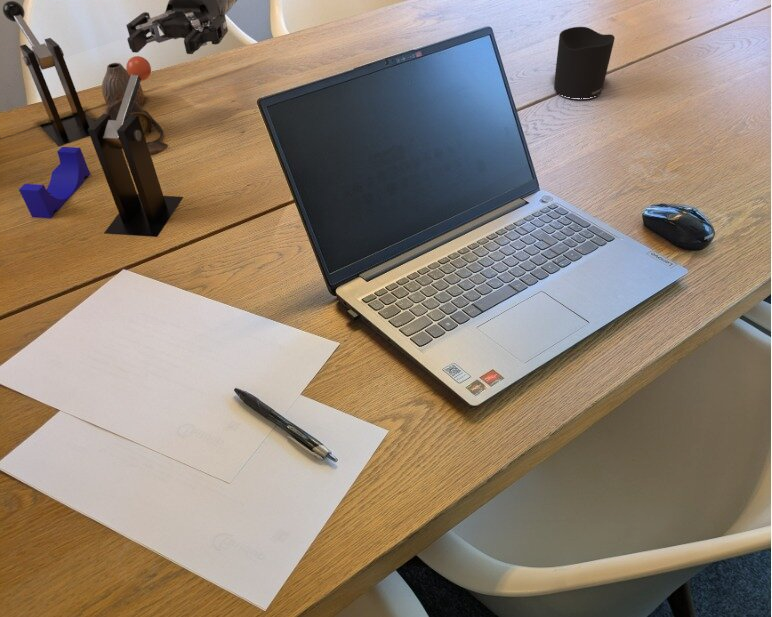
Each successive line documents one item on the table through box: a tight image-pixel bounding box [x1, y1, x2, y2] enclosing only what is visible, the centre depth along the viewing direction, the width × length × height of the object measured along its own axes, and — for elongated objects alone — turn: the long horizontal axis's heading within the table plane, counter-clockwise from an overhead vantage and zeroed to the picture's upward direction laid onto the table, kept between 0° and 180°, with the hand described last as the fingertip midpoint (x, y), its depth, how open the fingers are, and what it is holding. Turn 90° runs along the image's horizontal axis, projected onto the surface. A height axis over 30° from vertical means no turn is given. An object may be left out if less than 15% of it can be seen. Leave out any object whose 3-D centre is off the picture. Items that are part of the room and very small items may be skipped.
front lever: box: [103, 55, 152, 150], centre depth 89 cm, size 14×3×3 cm, turn 171°
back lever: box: [2, 0, 55, 71], centre depth 108 cm, size 14×3×3 cm, turn 38°
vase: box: [101, 62, 145, 108], centre depth 120 cm, size 7×7×9 cm
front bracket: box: [88, 113, 184, 238], centre depth 91 cm, size 10×8×16 cm
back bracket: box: [19, 37, 95, 148], centre depth 111 cm, size 10×8×16 cm
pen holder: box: [553, 26, 616, 99], centre depth 119 cm, size 9×9×10 cm
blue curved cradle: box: [18, 146, 91, 219], centre depth 99 cm, size 12×4×6 cm, turn 171°
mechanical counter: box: [104, 98, 168, 156], centre depth 110 cm, size 7×13×10 cm
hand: (159, 46), depth 96 cm, fingers open, 8 cm apart
